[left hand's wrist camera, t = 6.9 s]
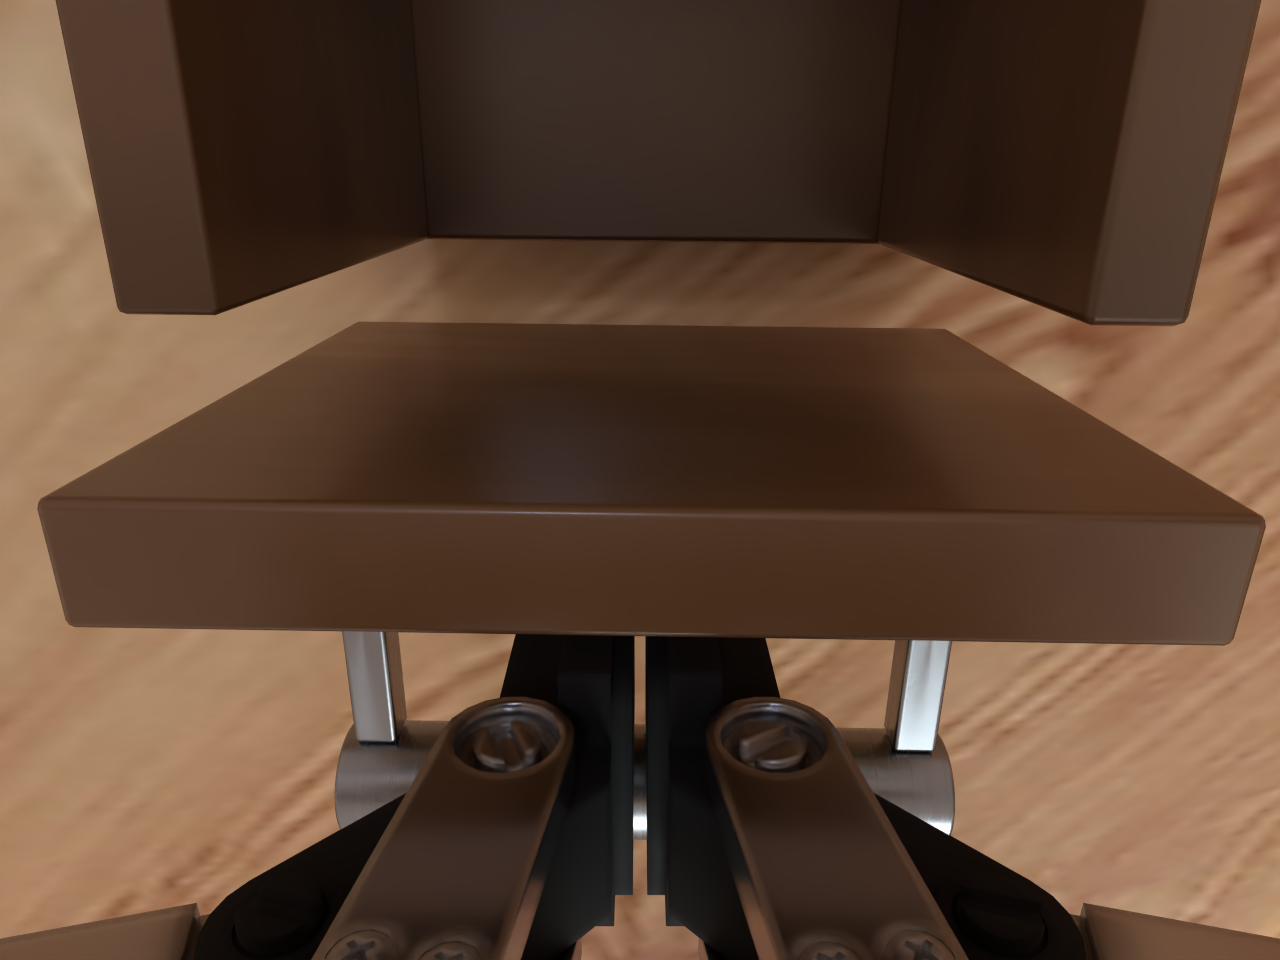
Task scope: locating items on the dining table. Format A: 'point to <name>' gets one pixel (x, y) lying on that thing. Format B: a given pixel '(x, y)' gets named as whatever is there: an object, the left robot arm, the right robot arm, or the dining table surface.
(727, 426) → the drawer
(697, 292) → the dining table surface
